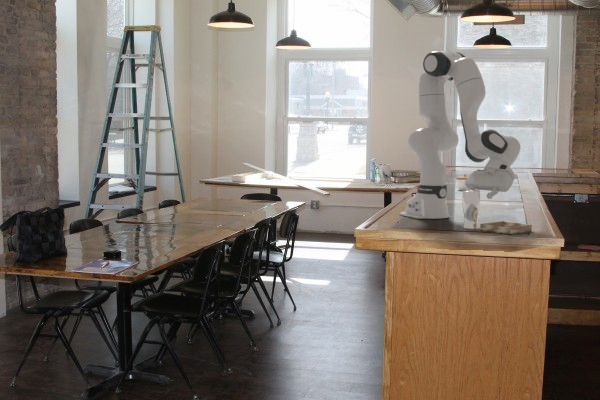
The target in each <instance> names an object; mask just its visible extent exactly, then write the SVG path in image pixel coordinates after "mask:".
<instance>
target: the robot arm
mask: <svg viewBox="0 0 600 400" xmlns="http://www.w3.org/2000/svg"><path fill="white" fill-rule="evenodd" d="M476 63H477V62H476V61H475V60H474V59H473V58H471V57H467V56H465V55H464V54H463V53H460V52H457V51H455V52H454V51H450V50H442V51H439V50H434V51H431V52H429V53H427V54H426V55H425V57H424V59H423V62H422V67H423V70H424V71H423V72H422V73H421V74H420V77H419V83H418V105H419V107H418V108H419V115H420V116H421V118H423V119H424V121H425V122H426V124H427V127H421V128H417V129H415V130H413V131H412V132H410V133H409V136H408V139H407V141H408V146H409V148H410V149H411V151H412V152H413V153H414V154H415V156H416V159H417V160H418V165H419V174H420V175H419V176H420V178H419V179H420V180H419V182H420V183H419V185H416V186H415V189H416V190H417V191H416V194H414V195H413V196H412V197H411V198H409V199H408V200H407V201H406V203H405V209H404V211H401V212H400V213H399V216H405V217H407V218H413V219H419V220H422V219H424V220H428V219H432V220H433V219H439V220H440V219H447V218H450V214H449V211H448V210H449V209H448V204H447V194H448V191H447V190H448V187H447V186H448V185H447V167H446V165H445V164H444V163H443V162H442V160H441V159H440V156H439V154H440V153H448V152H451V151H453V150H455V149H456V148H457V147H458V145H459V136H458V133H457V131H456V130H454V128H453V127H452V125H451V124H450V122H449V118H448V116H447V111H446V110H447V109H446V108H447V107H446V96H445V93H446V92H445V85H446V82H447V81H450V82H451V81H454V84H455V88H456V91H457V96H458V99H459V111H460V112H459V114H460V118H461V119H460V120H461V124H462V129H463V135H464V140H465V141H464V142H465V144H464V145H465V146H464V152H465V155H466V156H467V158H468V159H469V160H470V161H472V162H475V163H482V162H484V161H486V160H487V159H488V162H486V164H485V166H484V167H483V169H476V170H473V172H471V173H470V174H469V175H468V176H469V177H468V178H467V179H466V181H465V185H466V186H467V188H468V189H469V190H480V191H487V194H486V198H487V199H488V200H489V199H493V197H494V196H496V195H497V194H499V192H500V193H507V192H508V191H510V189H511V187H512V185H513V184H514V180H515V179H516V178H517V176H516V174H515V172H514V171H513V170H512V168H511V167H512V165H513V164H514V163H515V162H516V160H517V158H518V157H519V154H520V152H521V143H520V141H519V140H518V139H517V138H515V137H514V136H512V135H503V134H501V133H499V132H498V131H496V130H494V129H491V128H490V129H486V130H483V132H481V133H480V128H479V123H478V112H479V109H480V107H481V104H482V103H483V101H484V99H485V97H486V86H485V82H484V79H483V76H482V73H481V70H480V69H479V67H478V65H477V64H476ZM488 191H489V192H488Z"/></svg>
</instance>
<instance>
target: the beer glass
mask: <svg viewBox="0 0 600 400" xmlns="http://www.w3.org/2000/svg"><path fill="white" fill-rule="evenodd" d="M481 199H482V198H481V190H476V189H475V190H462V203H461V204H462V212H463V219H464V221H463V226H462V228H463V230H478V228H479V227H480V226H479V215H480V211H481V210H480V208H481V201H482V200H481ZM479 229H480V228H479Z"/></svg>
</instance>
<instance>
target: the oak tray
mask: <svg viewBox="0 0 600 400" xmlns="http://www.w3.org/2000/svg"><path fill="white" fill-rule="evenodd" d="M532 226H533V224H530V223H529V224H528V223H522V222H516V221H515V222H514V221H508V220H507V221H506V220H498V221H492V222H486V223H480V226H479V227H480V228H479V230H484V231H483V232H486V231H490V232H489V233H493V232H495V233H494V234H499V233H502V234H501V235H506V234H512V235H517V234H518V233H519V234H524V233H525V234H526V233H530V232H532V231H533V227H532Z"/></svg>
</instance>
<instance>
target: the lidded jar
mask: <svg viewBox="0 0 600 400" xmlns="http://www.w3.org/2000/svg"><path fill="white" fill-rule="evenodd" d="M469 176H470V175H468V176H467V174H465V173H464V174H463V176H462V175H461V176H459V175H458V176H456V177H455V184H456V187H457V189H458V190H459V191H463V190H469V189H468V188H467V186H466V185H465V181H466V179H467V178H468V177H469Z"/></svg>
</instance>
